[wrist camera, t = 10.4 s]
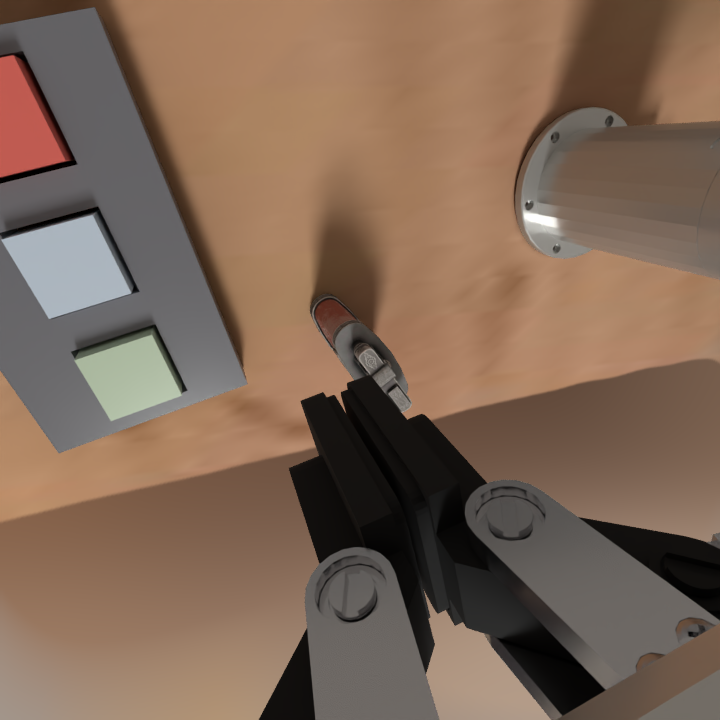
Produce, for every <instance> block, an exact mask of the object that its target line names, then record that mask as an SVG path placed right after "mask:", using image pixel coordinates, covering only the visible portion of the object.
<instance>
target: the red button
mask: <svg viewBox="0 0 720 720" xmlns="http://www.w3.org/2000/svg"><path fill="white" fill-rule="evenodd" d="M74 160H76V159H75V157H74V155H73V153H72V151H71V149H70V147H69V145H68V143H67V141H66V139H65V137H64V135H63V133H62V131H61V128H60V126H59V124H58V122H57V120H56V118H55V116H54V114H53V112H52V110H51V108H50V106H49V104H48V102H47V100H46V98H45V95H44V93H43V91H42V89H41V87H40V85H39V83H38V81H37V79H36V77H35V75H34V73H33V71H32V69H31V67H30V65H29V63H27V62H25V61H23V60H21V59H20V58H18V57H16V56H14V55H11V56H6V57H1V58H0V179H1V178H5V177H9V176H13V175H17V174H21V173H25V172H29V171H34V170H38V169H42V168H46V167H50V166H54V165H58V164H62V163H66V162H70V161H74Z"/></svg>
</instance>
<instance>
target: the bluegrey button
mask: <svg viewBox="0 0 720 720" xmlns="http://www.w3.org/2000/svg"><path fill="white" fill-rule="evenodd" d="M2 242H3V244H4V245H5V247H6V249H7V250H8V252H9V254H10V255H11V257H12V259H13V260H14V262H15V264H16V265H17V267H18V269H19V270H20V272H21V273H22V275H23V277H24V278H25V280H26V282H27V283H28V285H29V287H30V288H31V290H32V292H33V293H34V295H35V297H36V298H37V300H38V302H39V303H40V305H41V306H42V308H43V310H44V311H45V313H46V315H47V316H48V318H49V319H51V318H54V317H57V316H60V315H64V314H67V313H70V312H73V311H76V310H80V309H83V308H86V307H89V306H93V305H96V304H99V303H102V302H105V301H109V300H112V299H115V298H118V297H122V296H125V295H128V294H131V293H132V291H133V288H134V285H135V281H134V279H133V277H132V275H131V273H130V271H129V269H128V267H127V265H126V262H125V260H124V258H123V256H122V254H121V252H120V250H119V248H118V246H117V244H116V242H115V240H114V238H113V236H112V234H111V232H110V229H109V227H108V225H107V223H106V221H105V219H104V217H103V215H102V213H101V211H100V209H98V210H94V211H90V212H87V213H83V214H79V215H76V216H72V217H68V218H64V219H61V220H57V221H53V222H50V223H46V224H42V225H39V226H35V227H31V228H28V229H24V230H20V231H18V232H16V233H14V234H12V235H10V236H8V237H6V238H4V239H2Z"/></svg>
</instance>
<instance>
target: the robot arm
mask: <svg viewBox="0 0 720 720" xmlns="http://www.w3.org/2000/svg"><path fill="white" fill-rule="evenodd" d="M515 211H516V216H517V221H518V225H519V227H520V230H521V232H522V235H523V236H524V238H525V239H526V241H527V242H528V243H529V244H530V245H531V246H532V247H533V248H534V249H535V250H536V251H538V252H540V253H542V254H544V255H547V256H550V257H554V258H562V259H567V258H574V257H577V256H580V255H583V254H586V253H587V252H589V251H591V250H592V249H595V250H599V251H603V252H608V253H612V254H616V255H620V256H624V257H628V258H632V259H636V260H641V261H645V262H649V263H653V264H657V265H661V266H665V267H669V268H673V269H678V270H682V271H686V272H690V273H694V274H698V275H703V276H706V277H710V278H715V279H719V280H720V121H710V122H691V123H672V124H654V125H635V126H628V125H627V124H626V122H625V121H624V119H622V118H621V117H620V116H619V115H617V114H616V113H615V112H613V111H610V110H608V109H606V108H599V107H588V108H580V109H576V110H573V111H569V112H567V113H566V114H564V115H562V116H560V117H558V118H557V119H555V120H554V121H553V122H552V123H551V124H549V125H548V126H547V127H546V128H545V129H544V130H543V131H542V133H541V134H540V135H539V136H538V137H537V138H536V140H535V141H534V143H533V145H532V146H531V148H530V149H529V151H528V153H527V155H526V157H525V159H524V162H523V164H522V166H521V170H520V173H519V176H518V180H517V186H516V193H515ZM347 388H348V390H345V391H343V392H341V397H342V400H343V404H344V407H345V411H346V413H345V411H344V410H343V408H342V406H341V405H340V403H339V401H338V400H337V398H336V396H335V395H332V396H330V397H326V396H325V394H324V393H323V392H322V393H320V394H317V395H315V396H312V397H309V398H307V399H304V400H302V401H301V404H302V407H303V410H304V413H305V416H306V419H307V422H308V425H309V428H310V430H311V433H312V436H313V439H314V442H315V445H316V448H317V451H318V453H319V456H318V457H315V458H313V459H311V460H308V461H306V462H303V463H300V464H298V465H296V466H293V467H291V468H289V471H290V474H291V477H292V480H293V483H294V486H295V489H296V493H297V496H298V499H299V502H300V505H301V508H302V511H303V514H304V517H305V520H306V523H307V527H308V530H309V533H310V536H311V539H312V542H313V545H314V548H315V551H316V554H317V557H318V560H319V563H320V564H319V565H318V567H317V568H316V570H315V571H314V572H313V574H312V575H311V577H310V580H309V582H308V584H307V587H306V594H305V609H306V621H307V629H306V631H305V633H304V635H303V637H302V639H301V641H300V642H299V644H298V646H297V648H296V650H295V652H294V654H293V656H292V658H291V660H290V661H289V663H288V665H287V667H286V669H285V671H284V673H283V675H282V677H281V679H280V680H279V682H278V684H277V686H276V688H275V690H274V692H273V694H272V696H271V698H270V699H269V701H268V703H267V705H266V707H265V709H264V711H263V713H262V715H261V717H260V718H259V720H439V717H438V714H437V710H436V707H435V704H434V701H433V697H432V694H431V690H430V687H429V684H428V680H427V677H426V672H427V669H428V665H429V662H430V658H431V655H432V652H433V649H434V645H435V643H434V640H433V636H432V632H431V628H430V624H429V620H428V619H429V618H430V614H429V610H428V606H427V602H426V598H425V594H424V591H425V593H426V595H427V597H428V598H429V600H430V602H431V604H432V606H433V608H434V609H435V611H436V612H437V613H440V612H442V611H444V610H446V611H447V613H448V614H449V616H450V618H451V620H452V621H453V623H454V625H458V624H459V623H461V622H463V623H464V624H465V626H466V627H467V628H469V629H472V630H475V631H479V632H482V633H484V634H485V637H486V638H487V640H488V642H489V643H490V645H491V646H492V648H493V649H494V650H495V651H496V653H497V654H498V655H499V656H500V658H501V659H502V660H503V661H504V662H505V663H506V665H507V666H508V667H509V668H510V670H511V671H512V672H513V673H514V675H515V676H516V677H517V678H518V679H519V681H520V682H521V683H522V684H523V686H524V687H525V688H526V689H527V690H528V692H529V693H530V694H531V695H532V697H533V698H534V699H535V700H536V701H537V703H538V704H539V705H540V706H541V708H542V709H543V710H544V711H545V713H546V714H547V715H548V716H549V717H550V719H551V720H720V533H717V534H713V536H712V541H711V542H704V541H701V540H697V539H693V538H690V537H686V536H680V535H675V534H669V533H664V532H658V531H652V530H647V529H641V528H636V527H630V526H625V525H619V524H613V523H608V522H602V521H597V520H591V519H585V518H580V517H577V516H576V515H574V514H573V513H572V512H570V511H568V510H567V509H566V508H565V507H563V506H562V505H560V504H559V503H558V502H556V501H555V500H554V499H552V498H551V497H550V496H548V495H547V494H545V493H544V492H543V491H541V490H539V489H538V488H536V487H534V486H532V485H531V484H528V483H524V482H521V481H516V480H500V481H493V482H489V483H486V481H485V480H484V479H483V478H482V477H481V476H480V475H479V474H478V473H477V471H475V469H474V468H473V467H472V466H471V465H470V464H469V463H468V461H467V460H466V459H465V458H464V457H463V456H462V455H461V454H460V453H459V452H458V450H457V449H456V448H455V447H454V446H453V445H452V444H451V443H450V442H449V441H448V439H447V438H446V437H445V436H444V435H443V434H442V433H441V432H440V431H439V429H438V428H437V427H435V425H434V424H433V423H432V422H431V421H430V420H429V418H428V417H426V416H425V415H424V414H420V415H417V416H415V417H413V418H410V419H408V420H407V419H406V418H405V416H404V415H403V414H402V413H401V412H400V410H399V409H398V408H397V407H396V406H395V404H394V403H393V402H392V401H391V399H390V398H389V397H388V396H387V395H386V393H385V392H384V391H383V390H382V388H381V387H380V386H379V385H378V384H377V382H376V381H375V380H374V379H373V378H372V376H371V375H367V376H364V377H362V378H359V379H356V380H354V381H351V382H349V383H347ZM423 589H424V590H423Z"/></svg>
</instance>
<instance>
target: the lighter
mask: <svg viewBox="0 0 720 720" xmlns="http://www.w3.org/2000/svg"><path fill="white" fill-rule="evenodd" d="M310 314H311V317H312V319H313V321H314V323H315V324H316V326H317V328H318V330H319V332H320V333H321V335H322V336H323V338H324V339H325V341H326V342H327V344H328V345H329V346H330V348H331V349H332V350H333V351H334V352H335V354H336V355H337V357H338V358H339V360H340V361H341V362H342V364H343V365H344V367H345V368H346V369H347V371H348V372H349V373H350V375H351V376H352V378H353V379H354V380H356V379H359V378H362V377H364V376H367V375H371V376H372V378H373V379H374V380H375V381H376V382H377V384H378V385H379V386H380V387H381V388H382V390H383V391H384V392H385V393H386V395H387V396H388V397H389V398H390V399H391V401H392V402H393V403H394V404H395V406H396V407H397V408H398V409H399V410H400V412H405V411H406V410H408V409H409V408H410V407H411V405H412V402H411V400H410V398H409V397H408V396H407V391H408V384H407V381H406V379H405V377H404V374H403V372H402V370H401V368H400V366H399V364H398V363H397V361H396V359H395V358H394V356H393V354H392V353H391V351H390V350H389V349H388V348H387V347H386V346H385V344H384V343H383V342H382V341H381V340H380V339H379V338H378V337H377V336H376V335H375V334H374V333H373V332H372V331H371V330H370V329H368V328H367V327H366V326H365V325H364V324H363V323H362V322H360V321H359V320H358V318H357V317H356V316H355V315H354V314H353V313H352V311H351V310H350V309H349V308H348V307H346V306H345V305H344V304H343V303H342V302H341V301H340V300H339V299H337V298H336V297H335V296H333V295H332V294H324V295H321V296H319V297H317V298H316V299H315V300H314V301H313V303H312V305H311V307H310Z"/></svg>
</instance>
